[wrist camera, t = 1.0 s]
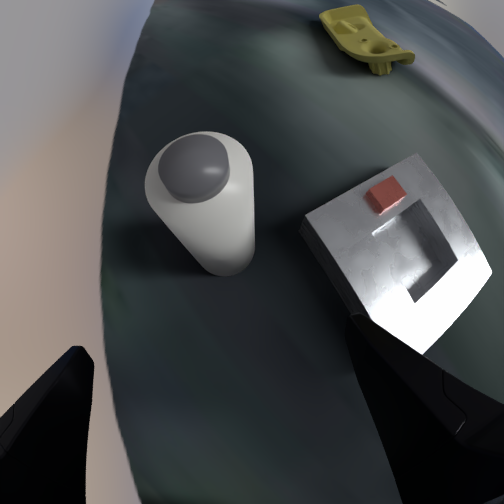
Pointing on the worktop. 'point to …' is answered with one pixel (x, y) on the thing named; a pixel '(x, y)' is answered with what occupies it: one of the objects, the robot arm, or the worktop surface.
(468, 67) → the worktop surface
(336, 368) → the worktop surface
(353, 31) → the plastic component
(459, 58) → the worktop surface
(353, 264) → the socket box
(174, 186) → the plug
